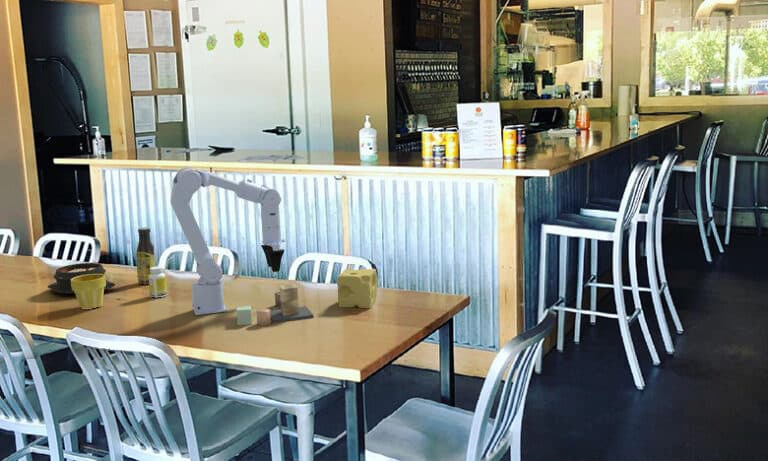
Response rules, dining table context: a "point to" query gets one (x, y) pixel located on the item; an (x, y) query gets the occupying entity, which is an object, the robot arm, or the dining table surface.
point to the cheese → (357, 288)
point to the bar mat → (303, 314)
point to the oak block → (289, 299)
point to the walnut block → (277, 299)
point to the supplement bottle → (157, 282)
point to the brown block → (263, 317)
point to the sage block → (244, 315)
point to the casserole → (74, 270)
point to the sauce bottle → (144, 255)
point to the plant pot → (89, 289)
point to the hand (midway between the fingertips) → (273, 269)
